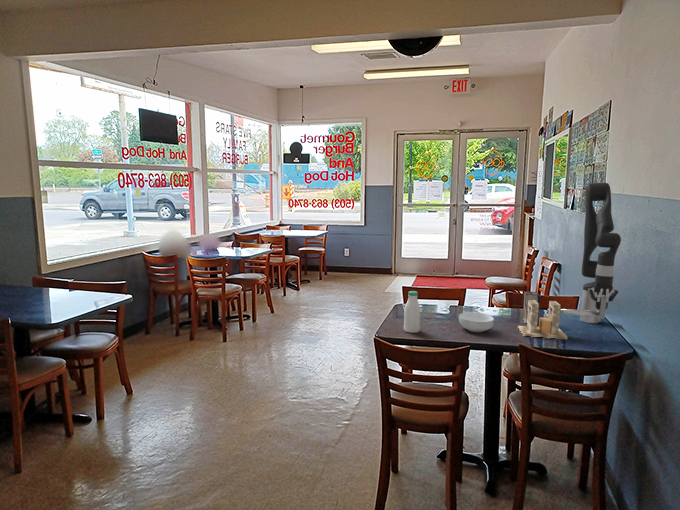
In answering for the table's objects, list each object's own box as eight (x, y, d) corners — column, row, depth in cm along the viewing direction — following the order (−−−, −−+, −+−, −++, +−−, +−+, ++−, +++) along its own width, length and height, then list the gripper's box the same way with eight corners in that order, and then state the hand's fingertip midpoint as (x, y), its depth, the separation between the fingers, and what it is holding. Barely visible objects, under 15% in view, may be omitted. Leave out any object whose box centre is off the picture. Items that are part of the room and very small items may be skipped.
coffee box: (538, 325, 258) (540, 295, 256) (525, 324, 259) (527, 294, 257) (534, 320, 267) (537, 291, 264) (522, 319, 268) (524, 290, 266)
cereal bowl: (455, 332, 243) (456, 318, 242) (460, 323, 259) (461, 310, 258) (491, 337, 237) (492, 322, 236) (494, 327, 252) (495, 314, 251)
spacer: (547, 329, 246) (548, 317, 245) (550, 333, 240) (551, 321, 239) (538, 329, 246) (539, 317, 245) (541, 332, 240) (542, 320, 239)
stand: (558, 330, 249) (561, 300, 246) (567, 339, 235) (570, 307, 233) (517, 328, 252) (520, 298, 249) (523, 336, 238) (526, 304, 235)
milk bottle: (421, 332, 241) (423, 293, 238) (406, 333, 240) (407, 293, 237) (416, 328, 249) (418, 289, 246) (401, 328, 248) (403, 290, 245)
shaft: (601, 316, 240) (603, 296, 239) (604, 318, 236) (606, 298, 234) (551, 313, 243) (553, 293, 242) (554, 315, 239) (555, 296, 238)
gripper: (616, 273, 238) (613, 308, 240) (586, 272, 240) (583, 306, 242) (623, 276, 230) (619, 312, 233) (591, 275, 232) (588, 310, 235)
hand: (601, 309), depth 237 cm, fingers closed on shaft, 2 cm apart
